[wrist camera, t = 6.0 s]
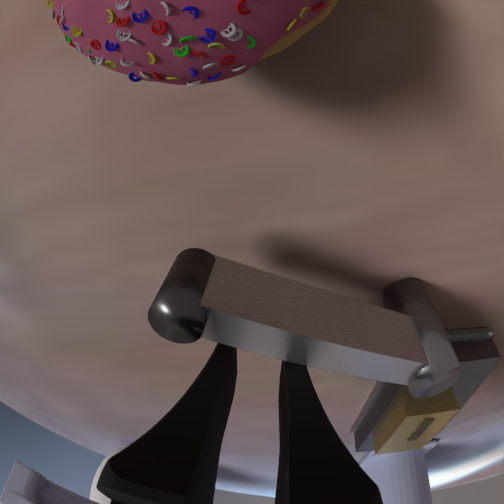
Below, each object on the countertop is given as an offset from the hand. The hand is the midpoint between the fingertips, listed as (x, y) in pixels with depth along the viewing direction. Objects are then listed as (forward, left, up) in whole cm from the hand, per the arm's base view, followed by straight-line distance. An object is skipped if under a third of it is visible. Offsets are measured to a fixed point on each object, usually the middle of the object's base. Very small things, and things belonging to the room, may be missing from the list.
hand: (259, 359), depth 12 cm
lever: (+2, -3, -4) cm, 5 cm away
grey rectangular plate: (-9, -12, -4) cm, 15 cm away
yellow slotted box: (-9, -11, -2) cm, 14 cm away
